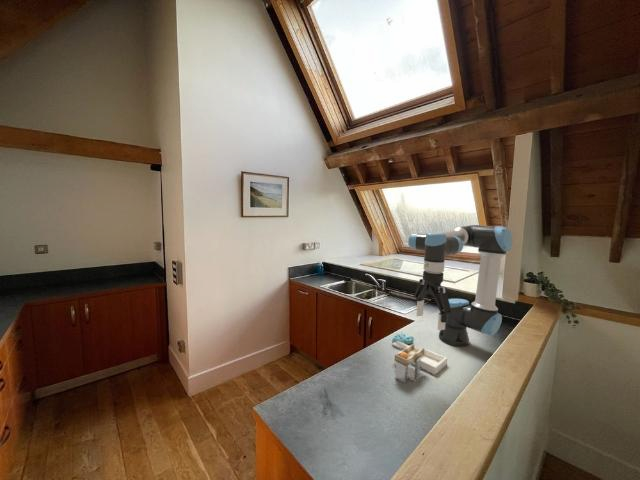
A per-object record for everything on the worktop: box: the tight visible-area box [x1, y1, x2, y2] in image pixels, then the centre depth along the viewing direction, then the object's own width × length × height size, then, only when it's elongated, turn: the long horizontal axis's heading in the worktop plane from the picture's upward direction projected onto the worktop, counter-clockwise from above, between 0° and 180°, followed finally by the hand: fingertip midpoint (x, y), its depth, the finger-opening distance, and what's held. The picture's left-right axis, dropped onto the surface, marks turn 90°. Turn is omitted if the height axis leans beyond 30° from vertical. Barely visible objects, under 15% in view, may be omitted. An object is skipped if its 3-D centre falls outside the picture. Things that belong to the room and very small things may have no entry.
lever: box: [391, 341, 426, 367], centre depth 117 cm, size 15×14×3 cm
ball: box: [400, 352, 408, 359], centre depth 111 cm, size 3×3×3 cm
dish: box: [410, 347, 448, 376], centre depth 123 cm, size 12×12×4 cm
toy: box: [391, 332, 415, 345], centre depth 143 cm, size 10×5×15 cm
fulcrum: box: [394, 358, 424, 384], centre depth 114 cm, size 11×10×8 cm
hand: (429, 322), depth 108 cm, fingers open, 13 cm apart
